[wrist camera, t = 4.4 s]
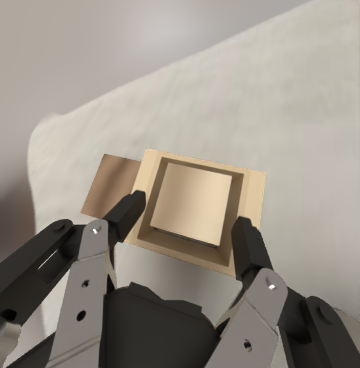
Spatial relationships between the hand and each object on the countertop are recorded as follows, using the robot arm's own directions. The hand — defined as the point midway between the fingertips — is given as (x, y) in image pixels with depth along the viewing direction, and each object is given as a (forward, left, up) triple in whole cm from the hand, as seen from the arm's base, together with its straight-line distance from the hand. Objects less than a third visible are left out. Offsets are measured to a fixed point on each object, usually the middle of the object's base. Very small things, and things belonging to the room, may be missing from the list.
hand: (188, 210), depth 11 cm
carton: (0, -1, -14) cm, 14 cm away
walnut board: (+16, -1, -14) cm, 22 cm away
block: (0, -1, -14) cm, 14 cm away
